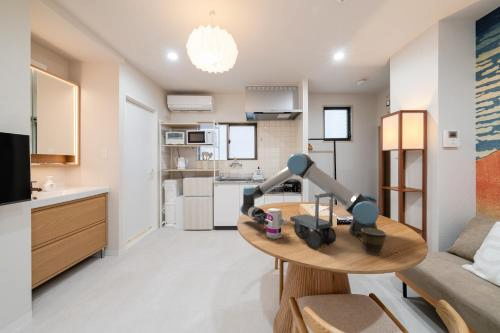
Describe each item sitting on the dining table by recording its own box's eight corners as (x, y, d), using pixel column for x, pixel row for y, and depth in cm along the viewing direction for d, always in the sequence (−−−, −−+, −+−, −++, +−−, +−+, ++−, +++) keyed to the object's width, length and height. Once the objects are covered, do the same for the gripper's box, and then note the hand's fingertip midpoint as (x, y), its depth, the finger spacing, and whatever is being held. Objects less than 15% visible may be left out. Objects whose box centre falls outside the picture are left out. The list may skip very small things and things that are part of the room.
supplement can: (270, 240, 113) (271, 211, 112) (263, 234, 120) (264, 208, 120) (284, 238, 116) (284, 210, 115) (276, 233, 123) (276, 207, 123)
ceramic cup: (378, 248, 104) (379, 228, 103) (389, 258, 94) (390, 235, 93) (350, 247, 105) (351, 227, 105) (359, 256, 95) (359, 234, 95)
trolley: (287, 236, 118) (288, 188, 117) (303, 232, 124) (304, 187, 123) (318, 251, 99) (319, 195, 98) (335, 246, 105) (337, 193, 104)
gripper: (270, 217, 139) (294, 227, 119) (241, 222, 128) (262, 233, 108) (270, 206, 138) (294, 214, 119) (241, 209, 128) (263, 219, 108)
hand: (279, 223), depth 114 cm, fingers closed on supplement can, 8 cm apart
